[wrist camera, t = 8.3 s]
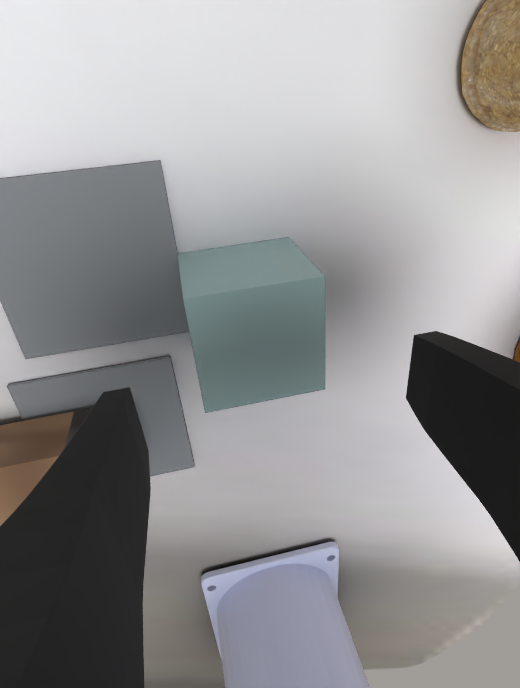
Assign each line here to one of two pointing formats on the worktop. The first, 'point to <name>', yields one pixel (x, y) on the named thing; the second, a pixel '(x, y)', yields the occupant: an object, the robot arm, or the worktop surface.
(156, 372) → the foot pad
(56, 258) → the seat pad
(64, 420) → the leg
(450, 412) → the robot arm
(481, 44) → the sprinkles bottle
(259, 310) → the block
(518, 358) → the disposable coffee cup
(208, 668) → the worktop surface
